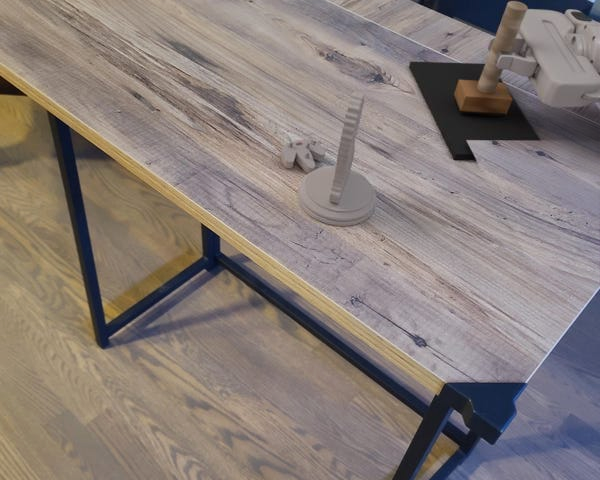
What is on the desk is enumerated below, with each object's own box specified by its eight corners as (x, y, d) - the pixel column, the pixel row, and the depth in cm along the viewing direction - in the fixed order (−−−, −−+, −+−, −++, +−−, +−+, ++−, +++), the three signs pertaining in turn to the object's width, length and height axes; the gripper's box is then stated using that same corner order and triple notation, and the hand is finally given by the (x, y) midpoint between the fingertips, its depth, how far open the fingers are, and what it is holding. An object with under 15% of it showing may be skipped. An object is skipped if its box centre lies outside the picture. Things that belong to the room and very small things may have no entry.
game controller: (301, 181, 75) (303, 164, 73) (239, 138, 80) (239, 121, 78) (331, 163, 78) (333, 147, 76) (269, 122, 83) (271, 106, 81)
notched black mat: (488, 69, 99) (491, 63, 98) (546, 159, 84) (549, 154, 83) (408, 67, 97) (410, 61, 96) (453, 159, 82) (455, 153, 81)
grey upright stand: (382, 185, 77) (411, 77, 65) (367, 235, 70) (397, 126, 59) (308, 165, 77) (325, 56, 66) (287, 213, 71) (301, 101, 60)
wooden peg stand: (497, 100, 90) (538, -1, 79) (505, 117, 88) (548, 15, 76) (452, 97, 90) (487, -5, 78) (459, 114, 87) (496, 11, 75)
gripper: (604, 122, 79) (505, 116, 78) (554, 45, 92) (468, 38, 91) (629, 79, 75) (524, 71, 73) (573, 4, 87) (483, -5, 86)
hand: (493, 52), depth 82 cm, fingers closed on wooden peg stand, 2 cm apart
